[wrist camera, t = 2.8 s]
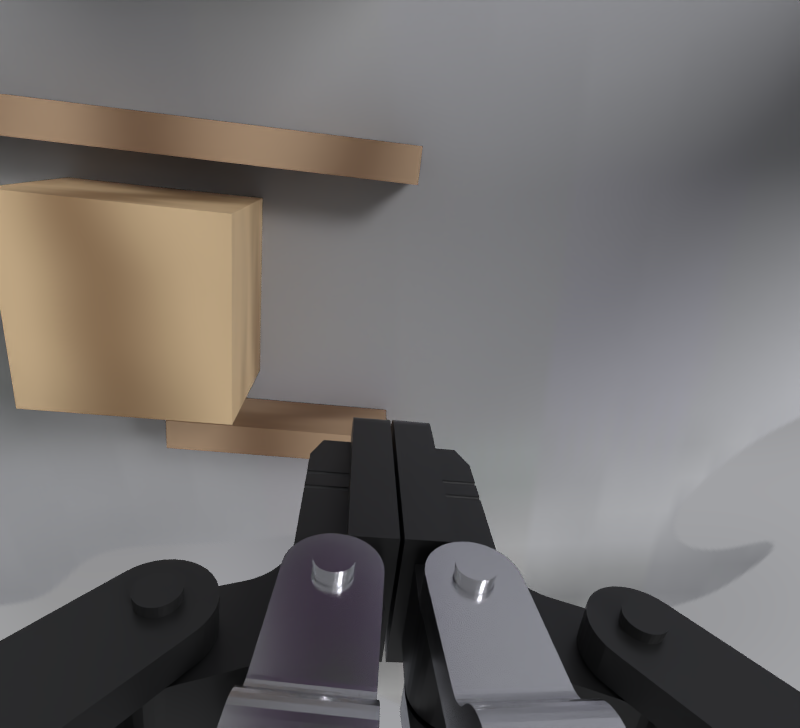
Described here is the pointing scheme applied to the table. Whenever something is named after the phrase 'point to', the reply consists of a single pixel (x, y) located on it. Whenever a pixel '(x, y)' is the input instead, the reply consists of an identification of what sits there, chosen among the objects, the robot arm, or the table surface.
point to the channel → (242, 144)
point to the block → (130, 298)
